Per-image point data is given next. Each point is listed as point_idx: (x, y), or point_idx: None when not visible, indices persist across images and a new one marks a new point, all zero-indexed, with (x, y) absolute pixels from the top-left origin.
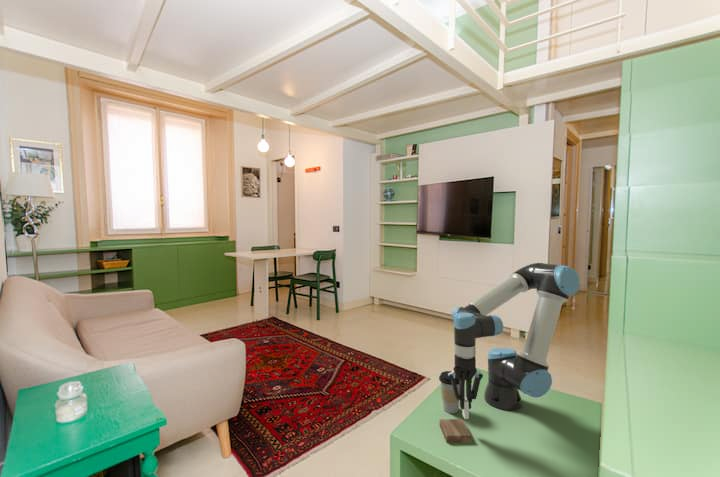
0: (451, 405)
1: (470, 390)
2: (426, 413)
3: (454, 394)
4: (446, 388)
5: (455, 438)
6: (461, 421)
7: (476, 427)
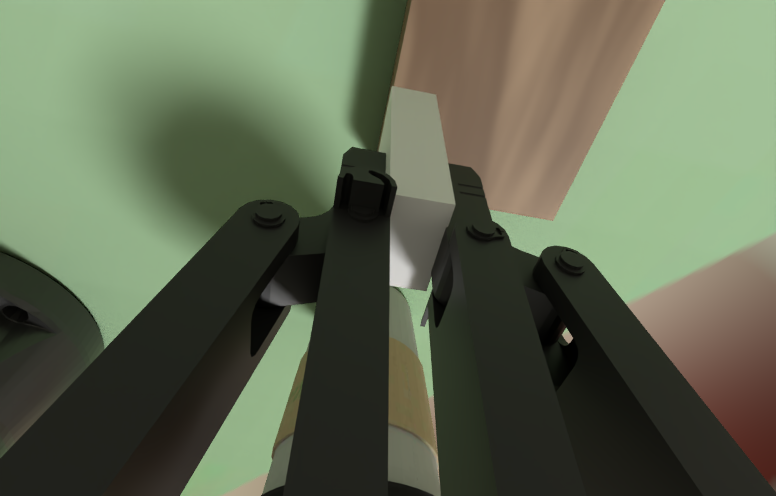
0: None
1: (332, 340)
2: None
3: None
4: (422, 451)
5: None
6: None
7: (277, 117)
